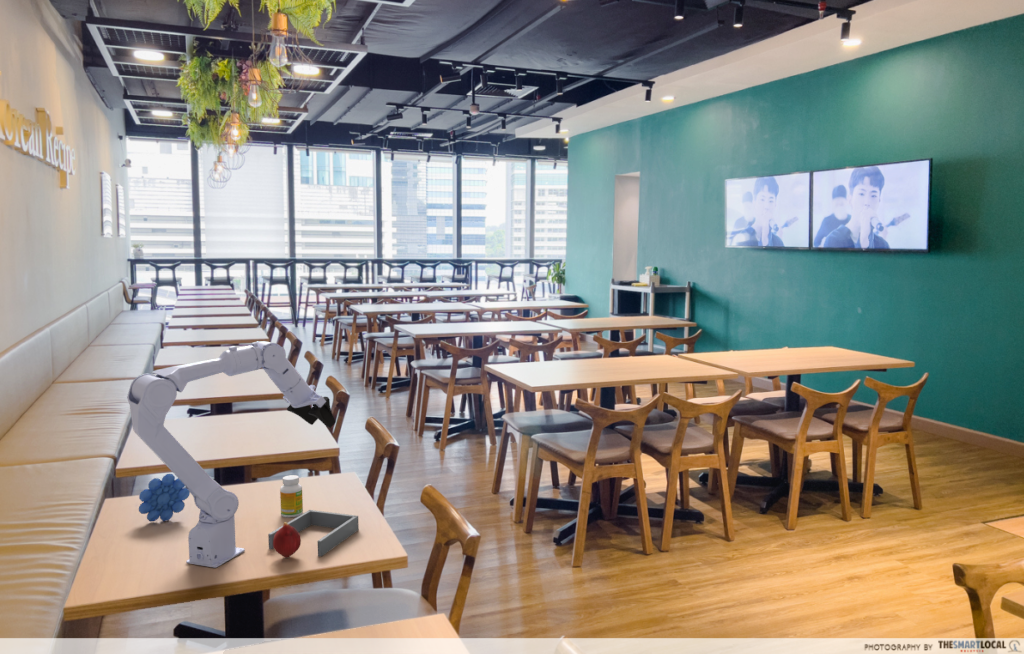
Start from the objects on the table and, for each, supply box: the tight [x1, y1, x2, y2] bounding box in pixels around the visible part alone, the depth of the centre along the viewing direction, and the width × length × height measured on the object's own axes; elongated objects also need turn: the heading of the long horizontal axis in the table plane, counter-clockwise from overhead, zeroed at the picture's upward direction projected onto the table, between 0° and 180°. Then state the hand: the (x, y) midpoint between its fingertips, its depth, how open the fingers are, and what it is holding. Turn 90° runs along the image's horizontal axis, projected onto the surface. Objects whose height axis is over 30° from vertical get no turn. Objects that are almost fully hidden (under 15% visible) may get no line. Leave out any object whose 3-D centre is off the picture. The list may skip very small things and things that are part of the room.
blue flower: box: [138, 473, 191, 523], centre depth 177 cm, size 12×7×12 cm, turn 111°
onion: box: [273, 521, 302, 559], centre depth 155 cm, size 6×6×8 cm
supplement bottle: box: [279, 474, 304, 518], centre depth 181 cm, size 5×5×10 cm
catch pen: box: [267, 509, 360, 557], centre depth 165 cm, size 16×14×4 cm
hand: (323, 423), depth 172 cm, fingers open, 7 cm apart
